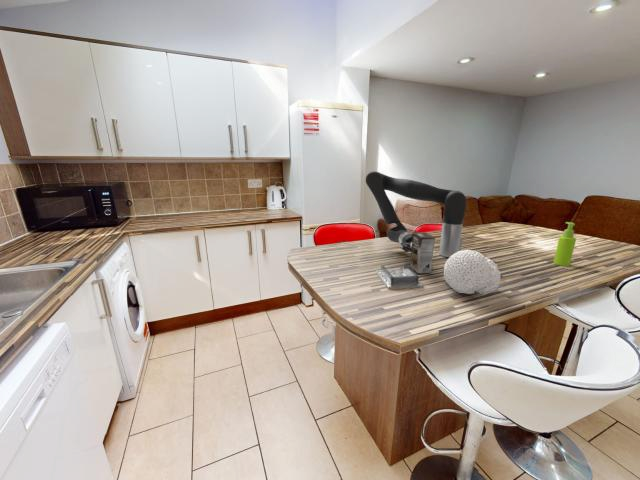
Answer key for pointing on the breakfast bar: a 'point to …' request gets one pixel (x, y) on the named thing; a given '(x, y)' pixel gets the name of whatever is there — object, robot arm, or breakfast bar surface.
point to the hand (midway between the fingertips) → (424, 251)
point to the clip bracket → (399, 278)
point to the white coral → (471, 273)
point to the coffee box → (422, 252)
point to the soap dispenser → (565, 247)
